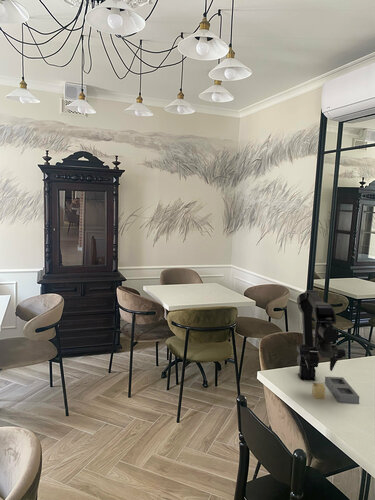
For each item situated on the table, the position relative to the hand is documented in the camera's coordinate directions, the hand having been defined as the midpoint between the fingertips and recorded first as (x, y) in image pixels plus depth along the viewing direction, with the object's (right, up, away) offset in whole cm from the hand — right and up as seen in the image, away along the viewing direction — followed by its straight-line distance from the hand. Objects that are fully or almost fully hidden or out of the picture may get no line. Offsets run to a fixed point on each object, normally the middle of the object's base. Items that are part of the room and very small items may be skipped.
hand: (319, 370), depth 150 cm
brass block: (0, -12, +1) cm, 12 cm away
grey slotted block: (+11, -11, +5) cm, 16 cm away
